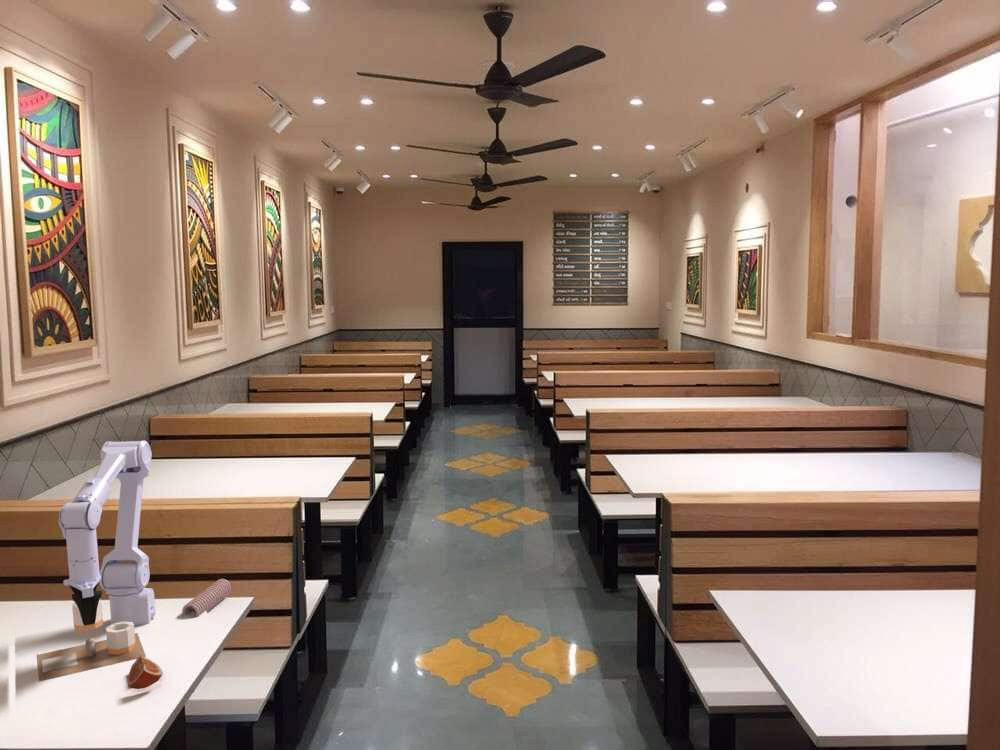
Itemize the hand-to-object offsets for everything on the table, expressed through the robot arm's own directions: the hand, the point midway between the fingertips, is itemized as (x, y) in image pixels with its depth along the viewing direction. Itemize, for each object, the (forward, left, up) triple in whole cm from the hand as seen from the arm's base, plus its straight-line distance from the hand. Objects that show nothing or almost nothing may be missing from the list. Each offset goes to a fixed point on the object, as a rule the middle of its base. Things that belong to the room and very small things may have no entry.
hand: (88, 619), depth 174 cm
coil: (-19, -26, -10) cm, 34 cm away
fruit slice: (-14, +13, -10) cm, 22 cm away
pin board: (0, 0, -10) cm, 10 cm away
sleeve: (0, 0, -1) cm, 1 cm away
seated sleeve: (-6, -2, -8) cm, 10 cm away
